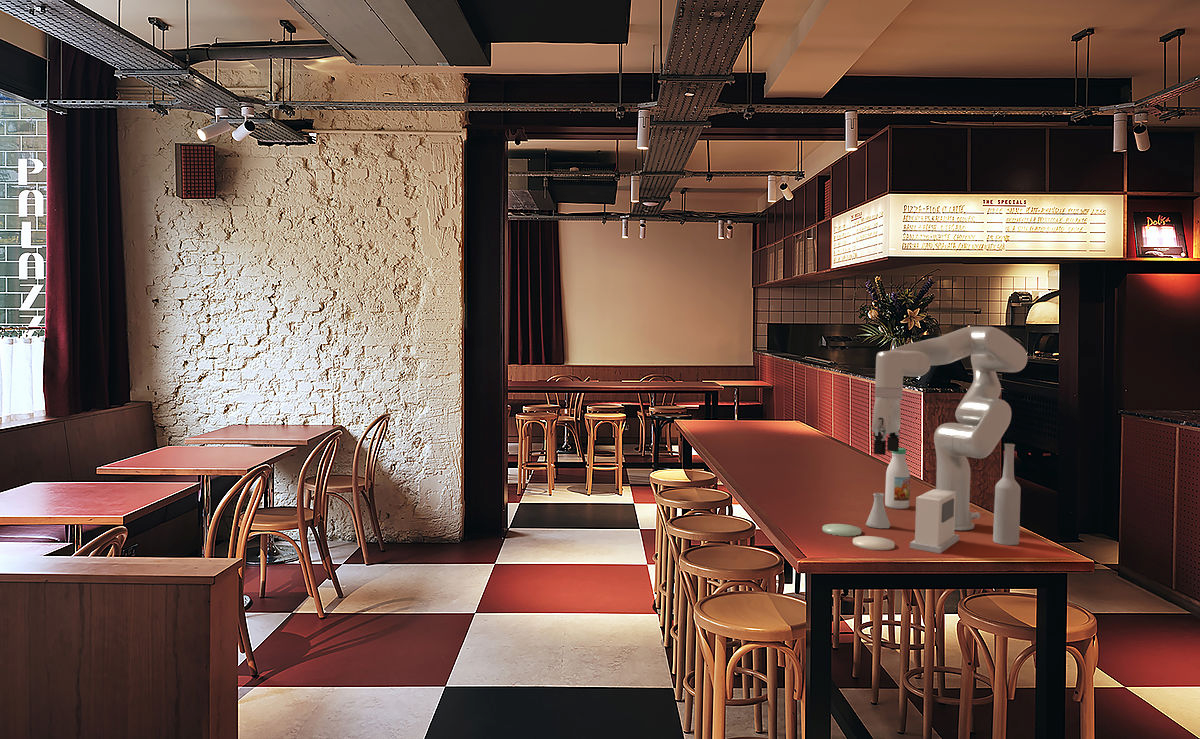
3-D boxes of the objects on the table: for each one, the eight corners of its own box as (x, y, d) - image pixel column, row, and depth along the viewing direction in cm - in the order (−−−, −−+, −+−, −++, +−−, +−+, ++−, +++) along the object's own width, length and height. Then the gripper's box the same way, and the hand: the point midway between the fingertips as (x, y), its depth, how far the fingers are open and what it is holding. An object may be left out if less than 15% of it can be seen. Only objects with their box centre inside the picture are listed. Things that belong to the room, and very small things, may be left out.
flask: (892, 529, 240) (893, 496, 240) (867, 528, 241) (867, 495, 241) (888, 524, 247) (889, 492, 247) (864, 522, 249) (864, 490, 248)
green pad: (844, 525, 244) (845, 522, 244) (869, 534, 234) (869, 531, 234) (814, 528, 240) (814, 525, 240) (838, 537, 230) (838, 534, 230)
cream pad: (875, 538, 230) (876, 534, 230) (903, 548, 220) (903, 544, 220) (844, 541, 226) (844, 537, 226) (870, 551, 216) (870, 548, 216)
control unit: (909, 548, 220) (911, 497, 219) (929, 535, 234) (931, 487, 233) (940, 553, 215) (941, 501, 214) (958, 540, 229) (960, 491, 228)
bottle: (1007, 546, 223) (1011, 446, 221) (987, 540, 229) (991, 443, 227) (1024, 544, 225) (1028, 445, 224) (1004, 538, 231) (1007, 442, 230)
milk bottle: (884, 508, 270) (886, 449, 269) (885, 503, 277) (887, 446, 276) (908, 510, 267) (910, 450, 266) (909, 505, 274) (911, 447, 273)
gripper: (887, 391, 241) (885, 448, 241) (863, 394, 228) (861, 454, 228) (912, 393, 236) (910, 451, 236) (889, 396, 223) (887, 457, 223)
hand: (886, 452), depth 232 cm, fingers open, 9 cm apart
